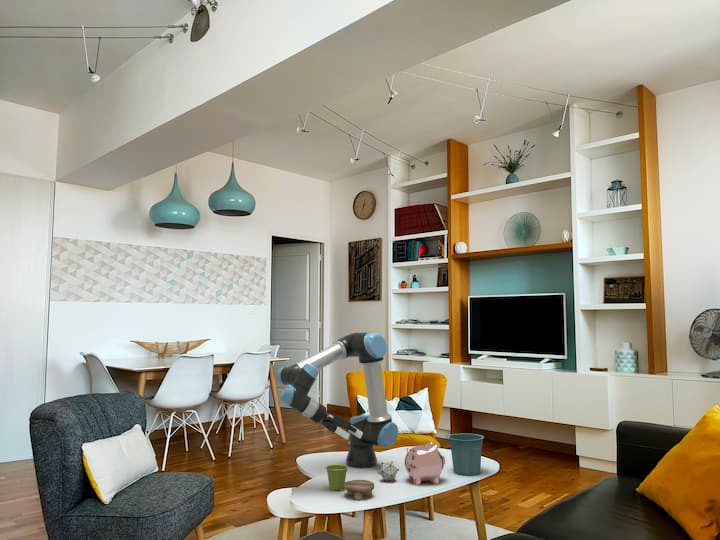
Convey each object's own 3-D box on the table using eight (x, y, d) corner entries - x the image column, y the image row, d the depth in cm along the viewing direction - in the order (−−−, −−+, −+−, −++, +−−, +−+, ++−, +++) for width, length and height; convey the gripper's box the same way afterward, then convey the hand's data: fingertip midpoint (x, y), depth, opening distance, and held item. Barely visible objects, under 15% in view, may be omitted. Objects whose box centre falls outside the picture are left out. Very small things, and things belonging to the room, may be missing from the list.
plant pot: (333, 484, 235) (333, 463, 235) (352, 487, 230) (352, 466, 231) (321, 489, 227) (321, 468, 227) (340, 493, 222) (340, 471, 223)
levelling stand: (345, 490, 225) (345, 479, 225) (375, 491, 224) (374, 480, 224) (342, 500, 213) (342, 488, 213) (373, 500, 212) (373, 488, 212)
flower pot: (447, 475, 247) (446, 439, 249) (450, 467, 263) (449, 432, 265) (484, 478, 243) (483, 440, 245) (485, 468, 259) (484, 433, 261)
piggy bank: (451, 484, 234) (450, 445, 235) (410, 487, 230) (410, 448, 231) (438, 475, 248) (437, 438, 250) (400, 477, 245) (399, 440, 246)
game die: (391, 490, 238) (397, 475, 233) (373, 482, 239) (378, 467, 235) (397, 475, 245) (403, 460, 240) (380, 468, 247) (384, 452, 242)
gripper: (300, 420, 240) (339, 445, 244) (320, 416, 218) (363, 443, 222) (308, 405, 243) (347, 430, 247) (329, 399, 222) (371, 426, 226)
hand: (354, 436), depth 235 cm, fingers open, 13 cm apart
